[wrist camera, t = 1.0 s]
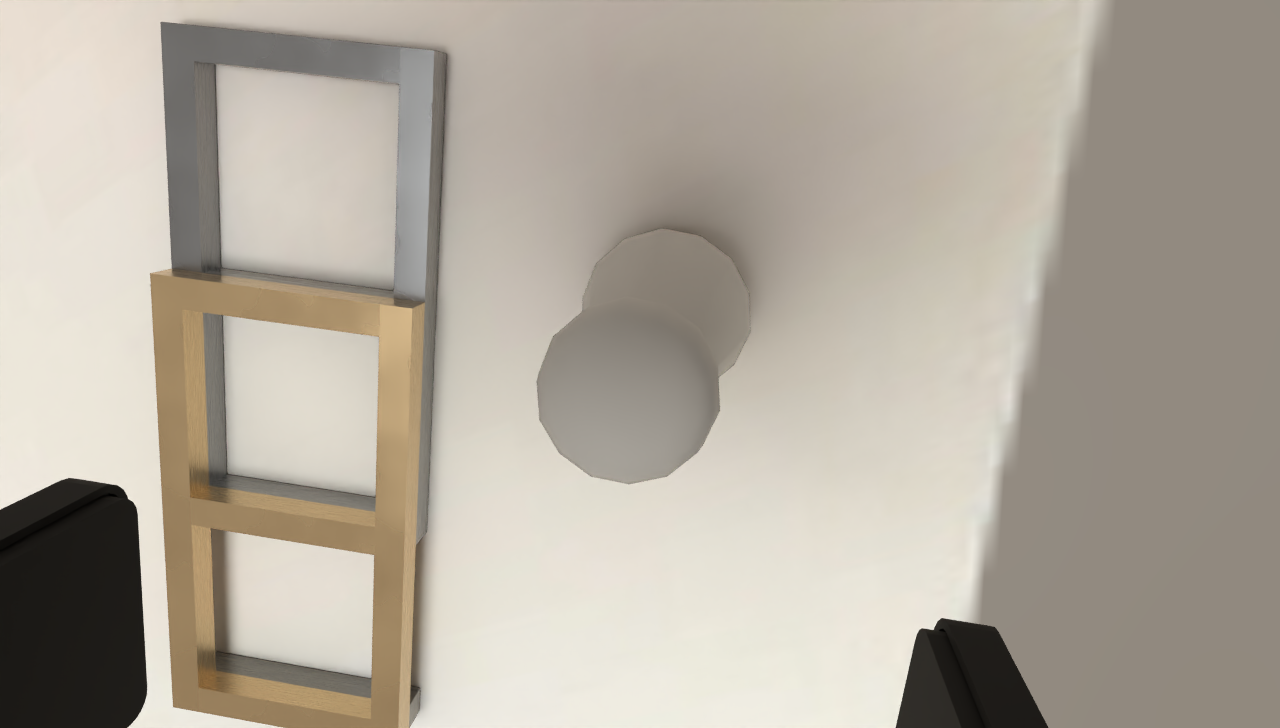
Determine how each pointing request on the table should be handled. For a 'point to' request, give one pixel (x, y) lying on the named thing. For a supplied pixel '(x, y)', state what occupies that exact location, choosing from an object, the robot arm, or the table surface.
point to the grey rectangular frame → (199, 251)
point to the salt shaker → (644, 357)
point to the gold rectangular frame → (286, 507)
